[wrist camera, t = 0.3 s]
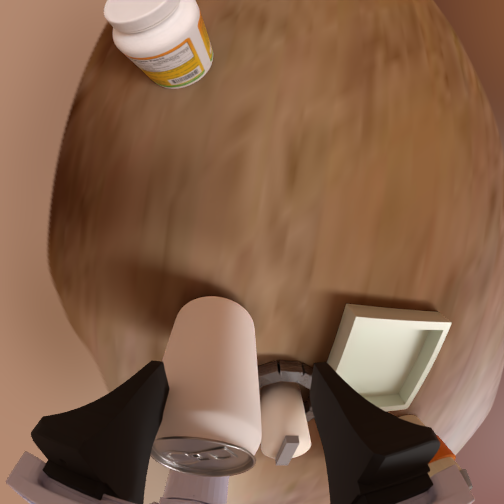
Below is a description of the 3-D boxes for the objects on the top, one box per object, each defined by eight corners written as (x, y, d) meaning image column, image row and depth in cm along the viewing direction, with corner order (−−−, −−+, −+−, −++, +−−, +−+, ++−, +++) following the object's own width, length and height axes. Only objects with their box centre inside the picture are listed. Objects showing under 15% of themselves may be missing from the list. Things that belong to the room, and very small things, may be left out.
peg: (294, 407, 24) (304, 466, 17) (256, 404, 24) (257, 465, 17) (304, 379, 24) (319, 441, 16) (263, 376, 23) (266, 440, 16)
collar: (308, 420, 25) (311, 430, 23) (232, 415, 25) (231, 425, 23) (332, 363, 23) (337, 374, 21) (243, 355, 23) (243, 366, 21)
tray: (399, 395, 24) (407, 408, 22) (312, 398, 24) (316, 415, 22) (438, 311, 22) (451, 322, 19) (346, 303, 22) (355, 316, 19)
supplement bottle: (170, 30, 16) (130, -36, 7) (226, 46, 17) (209, -31, 7) (137, 80, 17) (74, 30, 8) (192, 99, 18) (148, 40, 8)
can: (161, 309, 21) (113, 436, 10) (232, 280, 20) (226, 425, 9) (201, 361, 23) (185, 481, 12) (266, 340, 22) (282, 470, 11)
